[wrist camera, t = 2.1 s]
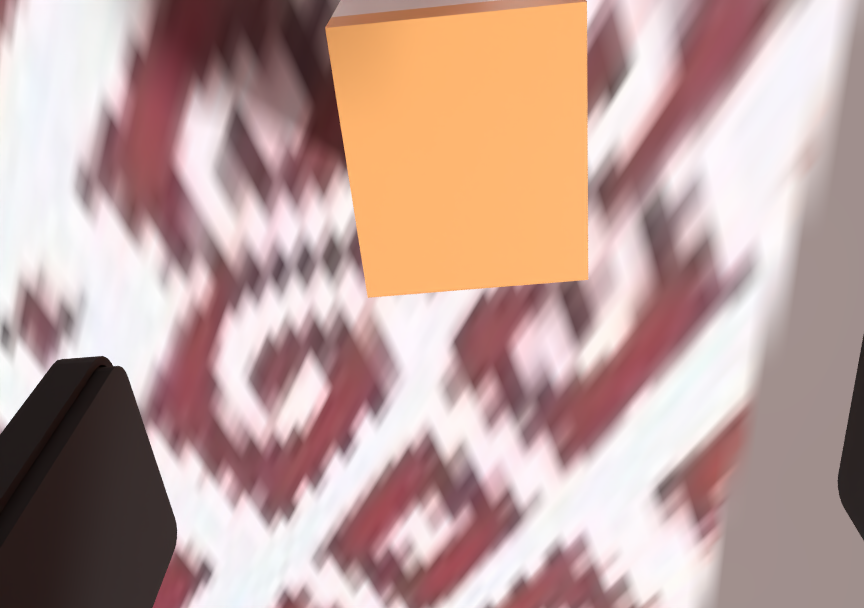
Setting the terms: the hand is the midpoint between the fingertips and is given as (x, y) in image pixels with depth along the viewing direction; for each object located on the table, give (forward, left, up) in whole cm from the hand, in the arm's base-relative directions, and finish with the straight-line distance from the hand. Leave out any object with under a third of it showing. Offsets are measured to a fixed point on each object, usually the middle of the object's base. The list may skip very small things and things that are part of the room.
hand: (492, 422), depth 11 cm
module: (-1, 0, -15) cm, 15 cm away
